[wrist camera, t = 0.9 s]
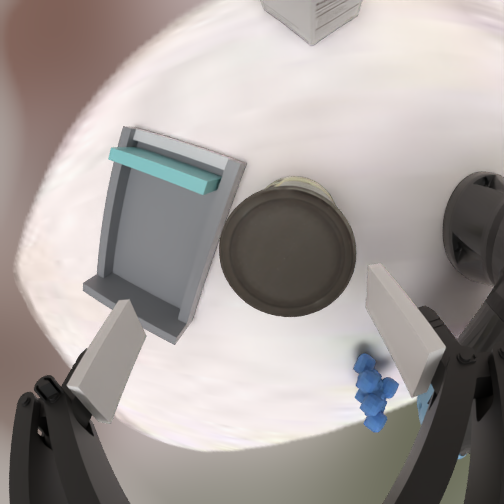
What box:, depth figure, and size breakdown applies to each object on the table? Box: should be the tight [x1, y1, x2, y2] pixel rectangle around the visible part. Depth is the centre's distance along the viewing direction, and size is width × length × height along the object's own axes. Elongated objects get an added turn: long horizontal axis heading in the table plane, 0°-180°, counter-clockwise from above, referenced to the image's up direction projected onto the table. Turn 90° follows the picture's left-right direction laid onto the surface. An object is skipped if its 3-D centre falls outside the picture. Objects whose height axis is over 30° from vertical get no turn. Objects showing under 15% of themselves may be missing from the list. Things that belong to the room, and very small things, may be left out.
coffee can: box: [219, 176, 356, 317], centre depth 26 cm, size 10×10×14 cm
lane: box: [83, 126, 247, 345], centre depth 34 cm, size 25×17×7 cm
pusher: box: [109, 147, 222, 195], centre depth 30 cm, size 2×13×6 cm, turn 69°
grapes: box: [353, 353, 399, 432], centre depth 32 cm, size 12×7×12 cm, turn 24°
